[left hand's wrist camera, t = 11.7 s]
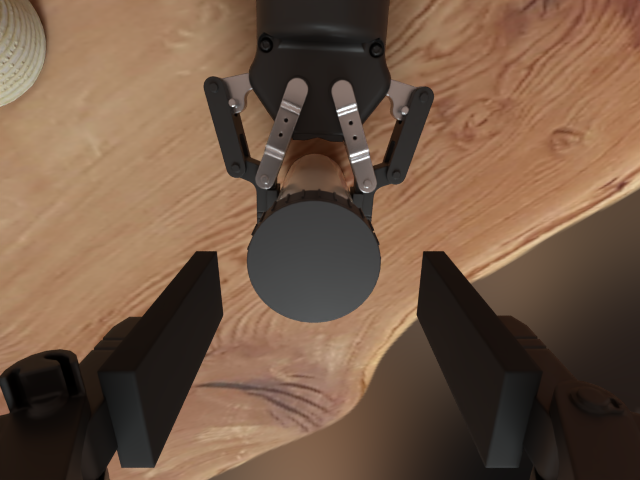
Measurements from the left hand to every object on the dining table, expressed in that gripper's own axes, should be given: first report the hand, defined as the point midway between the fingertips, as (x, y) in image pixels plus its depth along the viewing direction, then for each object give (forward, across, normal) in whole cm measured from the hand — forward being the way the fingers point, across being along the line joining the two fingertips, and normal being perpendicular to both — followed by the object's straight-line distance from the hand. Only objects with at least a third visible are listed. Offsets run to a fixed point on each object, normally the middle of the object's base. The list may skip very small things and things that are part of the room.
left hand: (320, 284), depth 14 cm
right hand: (+12, 0, -3) cm, 12 cm away
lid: (+2, 0, 0) cm, 2 cm away
